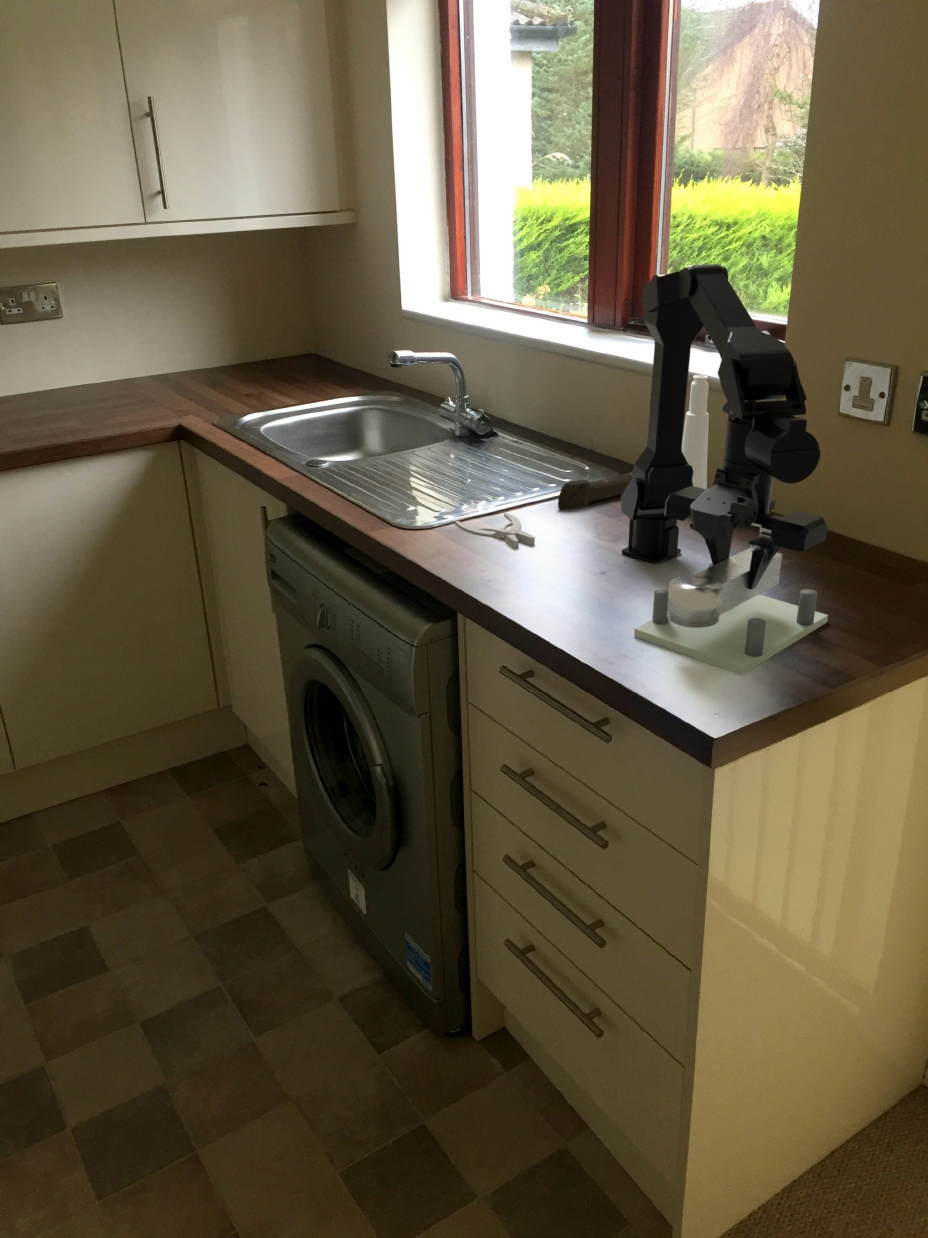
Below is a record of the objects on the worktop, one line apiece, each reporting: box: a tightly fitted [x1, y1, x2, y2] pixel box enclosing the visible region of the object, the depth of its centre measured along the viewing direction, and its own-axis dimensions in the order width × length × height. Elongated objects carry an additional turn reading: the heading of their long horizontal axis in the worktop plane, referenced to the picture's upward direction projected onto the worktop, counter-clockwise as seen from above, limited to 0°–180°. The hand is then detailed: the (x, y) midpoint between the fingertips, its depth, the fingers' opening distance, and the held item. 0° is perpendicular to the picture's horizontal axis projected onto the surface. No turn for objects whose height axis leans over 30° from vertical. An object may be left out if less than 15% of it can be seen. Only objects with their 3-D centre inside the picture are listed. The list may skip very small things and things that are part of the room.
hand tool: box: [557, 470, 633, 510], centre depth 175 cm, size 19×4×5 cm, turn 123°
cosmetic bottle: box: [682, 374, 710, 489], centre depth 165 cm, size 6×6×22 cm
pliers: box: [454, 512, 536, 549], centre depth 160 cm, size 10×2×15 cm
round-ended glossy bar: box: [667, 547, 783, 628], centre depth 122 cm, size 6×19×4 cm, turn 135°
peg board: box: [633, 562, 829, 676], centre depth 125 cm, size 15×20×5 cm
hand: (735, 583), depth 124 cm, fingers closed on round-ended glossy bar, 4 cm apart
